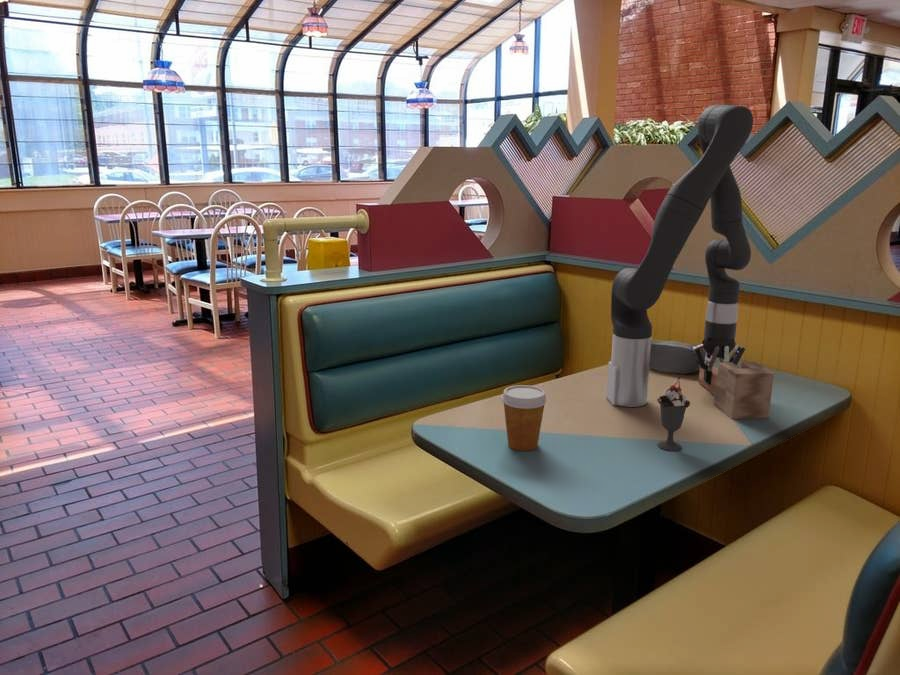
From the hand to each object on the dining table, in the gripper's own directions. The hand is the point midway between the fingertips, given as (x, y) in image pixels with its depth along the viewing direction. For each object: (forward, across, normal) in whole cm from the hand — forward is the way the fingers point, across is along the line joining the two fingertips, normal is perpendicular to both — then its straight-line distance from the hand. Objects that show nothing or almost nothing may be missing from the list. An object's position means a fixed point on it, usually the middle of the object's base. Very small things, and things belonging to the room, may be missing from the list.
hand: (714, 383), depth 185 cm
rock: (+3, -3, +21) cm, 22 cm away
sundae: (+2, -25, -34) cm, 42 cm away
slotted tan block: (+2, 0, -15) cm, 15 cm away
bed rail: (+2, 0, -4) cm, 4 cm away
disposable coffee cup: (+2, -56, -31) cm, 64 cm away
